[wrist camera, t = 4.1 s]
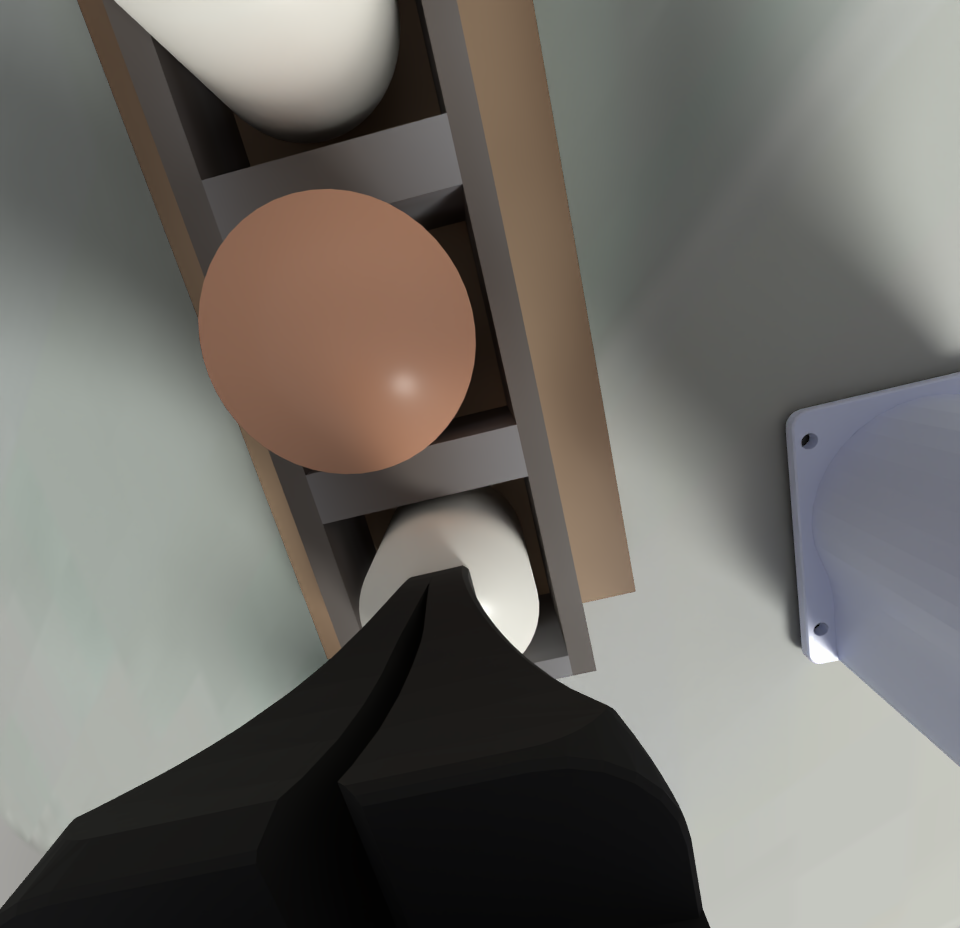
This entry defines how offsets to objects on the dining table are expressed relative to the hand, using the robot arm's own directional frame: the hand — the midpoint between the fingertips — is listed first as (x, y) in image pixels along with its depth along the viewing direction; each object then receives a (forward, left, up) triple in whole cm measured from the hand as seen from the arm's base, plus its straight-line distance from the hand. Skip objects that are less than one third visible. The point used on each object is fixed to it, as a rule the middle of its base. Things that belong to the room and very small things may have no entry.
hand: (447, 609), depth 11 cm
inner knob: (0, 0, -4) cm, 4 cm away
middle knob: (+6, 0, -2) cm, 6 cm away
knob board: (+6, 0, -6) cm, 8 cm away
